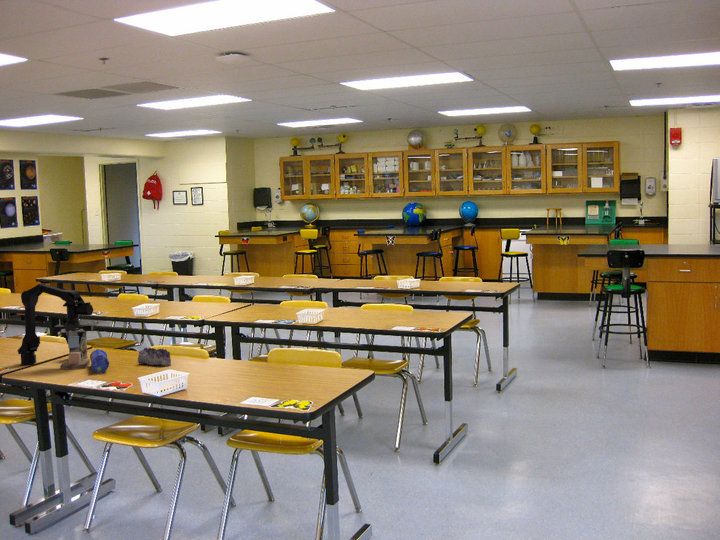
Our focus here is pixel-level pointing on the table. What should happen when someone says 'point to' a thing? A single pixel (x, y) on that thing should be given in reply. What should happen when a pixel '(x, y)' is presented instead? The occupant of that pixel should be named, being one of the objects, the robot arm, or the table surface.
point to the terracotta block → (74, 357)
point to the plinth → (75, 365)
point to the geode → (154, 357)
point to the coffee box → (83, 345)
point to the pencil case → (99, 361)
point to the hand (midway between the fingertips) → (74, 344)
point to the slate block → (73, 342)
